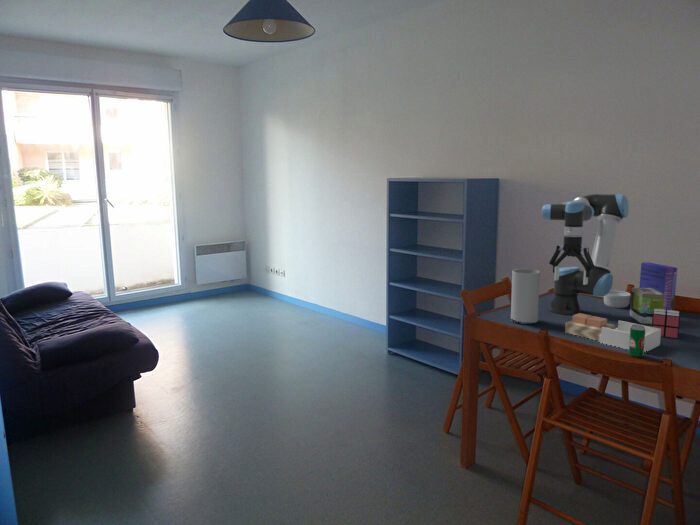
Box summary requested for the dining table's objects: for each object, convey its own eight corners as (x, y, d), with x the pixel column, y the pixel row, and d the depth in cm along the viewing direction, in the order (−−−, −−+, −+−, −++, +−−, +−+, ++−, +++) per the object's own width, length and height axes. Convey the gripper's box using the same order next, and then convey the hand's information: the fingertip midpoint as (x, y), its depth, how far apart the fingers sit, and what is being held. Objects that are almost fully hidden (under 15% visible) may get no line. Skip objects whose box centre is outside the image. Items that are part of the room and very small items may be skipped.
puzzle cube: (678, 339, 216) (680, 316, 214) (650, 335, 221) (652, 313, 219) (677, 332, 224) (679, 311, 223) (651, 329, 229) (653, 308, 228)
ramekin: (618, 309, 263) (618, 297, 262) (596, 304, 275) (597, 292, 274) (635, 306, 269) (636, 294, 267) (614, 301, 280) (614, 289, 279)
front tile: (586, 325, 222) (586, 318, 221) (593, 322, 225) (593, 315, 225) (599, 328, 217) (600, 321, 216) (606, 325, 220) (607, 318, 220)
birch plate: (564, 333, 227) (565, 322, 226) (578, 327, 234) (579, 317, 233) (600, 341, 214) (600, 330, 214) (613, 335, 222) (614, 325, 221)
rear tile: (572, 321, 227) (572, 315, 226) (579, 319, 230) (579, 313, 230) (585, 324, 222) (585, 318, 222) (592, 322, 226) (592, 315, 225)
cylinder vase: (509, 317, 254) (511, 268, 250) (535, 318, 252) (537, 269, 247) (512, 324, 242) (513, 273, 238) (539, 325, 240) (541, 273, 235)
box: (598, 342, 213) (599, 326, 212) (616, 335, 222) (617, 320, 221) (643, 353, 199) (644, 336, 198) (659, 345, 209) (661, 328, 207)
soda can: (626, 353, 200) (628, 324, 198) (639, 353, 200) (641, 324, 198) (632, 357, 195) (634, 327, 193) (645, 357, 195) (648, 328, 193)
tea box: (663, 324, 236) (665, 294, 234) (639, 324, 238) (641, 293, 236) (650, 316, 251) (653, 287, 248) (628, 315, 253) (630, 286, 250)
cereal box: (673, 314, 252) (677, 267, 248) (665, 315, 251) (669, 268, 247) (645, 306, 269) (648, 262, 265) (638, 307, 268) (641, 262, 264)
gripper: (542, 234, 233) (540, 279, 237) (597, 238, 215) (594, 287, 218) (551, 233, 238) (549, 277, 242) (605, 237, 219) (602, 284, 223)
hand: (570, 282), depth 230 cm, fingers open, 13 cm apart
